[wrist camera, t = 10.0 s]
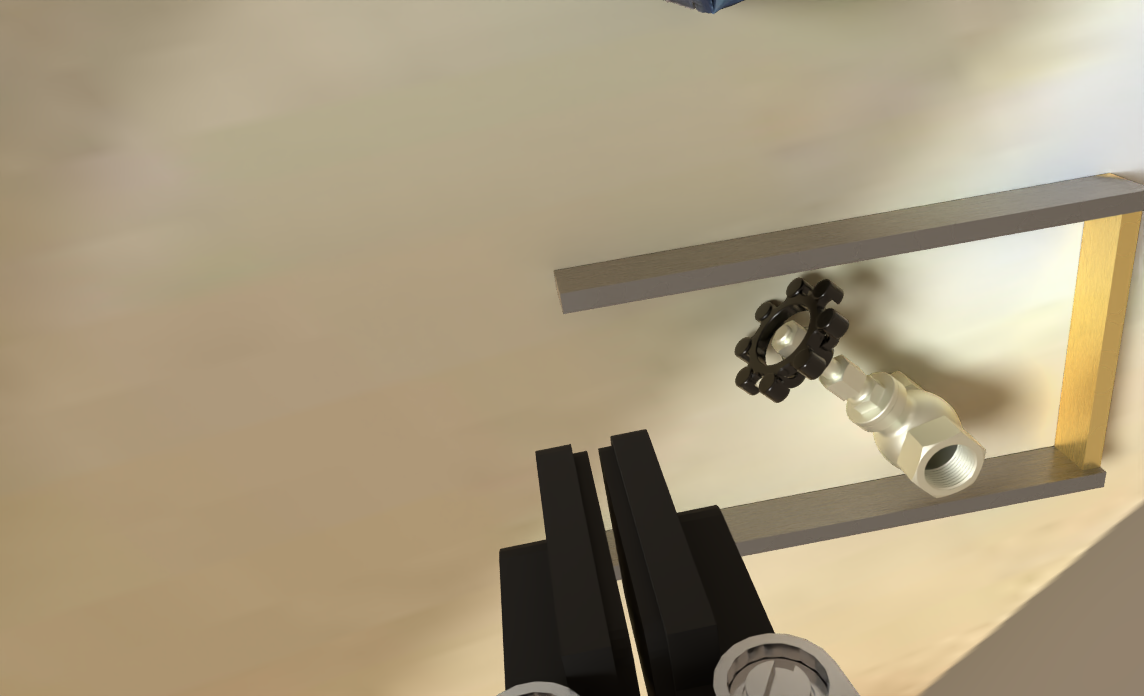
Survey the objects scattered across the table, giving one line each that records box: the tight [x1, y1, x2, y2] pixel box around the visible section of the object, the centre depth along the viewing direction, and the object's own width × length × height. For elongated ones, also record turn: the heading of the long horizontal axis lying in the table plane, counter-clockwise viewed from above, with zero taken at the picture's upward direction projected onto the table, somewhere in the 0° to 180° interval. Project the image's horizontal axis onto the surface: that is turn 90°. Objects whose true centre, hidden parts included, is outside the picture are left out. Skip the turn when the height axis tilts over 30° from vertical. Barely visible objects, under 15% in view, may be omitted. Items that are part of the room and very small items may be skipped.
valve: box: [735, 278, 986, 498], centre depth 42 cm, size 7×7×12 cm
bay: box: [554, 173, 1144, 580], centre depth 44 cm, size 28×17×3 cm, turn 98°
